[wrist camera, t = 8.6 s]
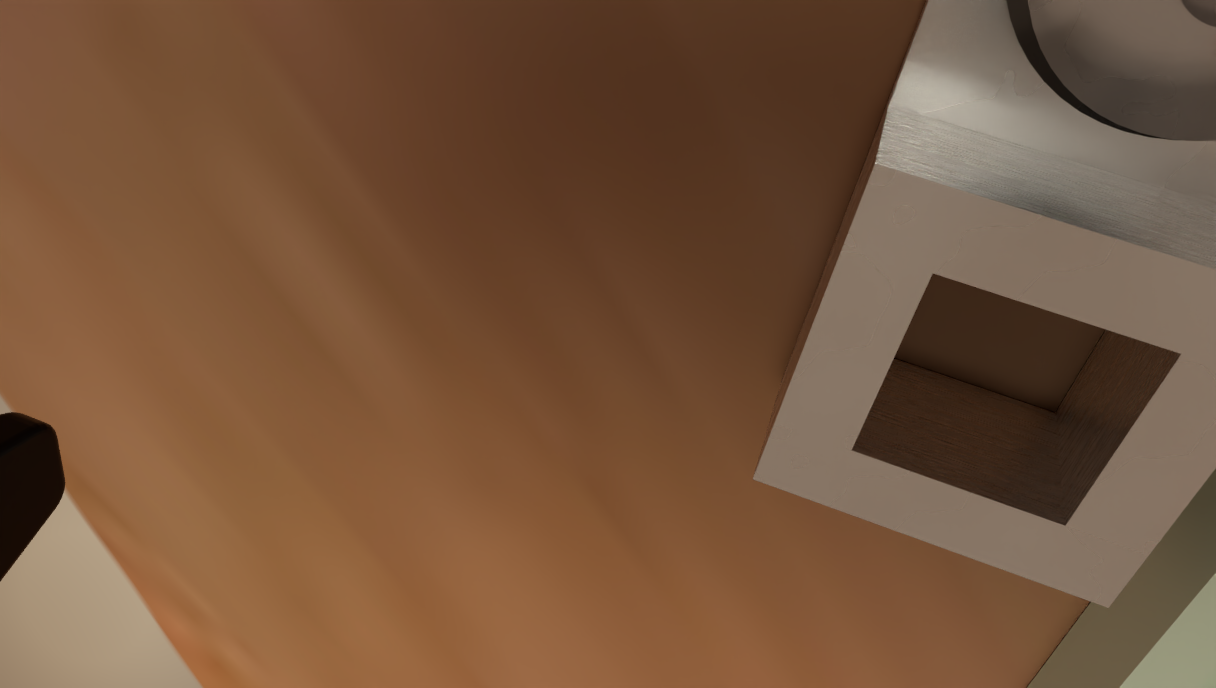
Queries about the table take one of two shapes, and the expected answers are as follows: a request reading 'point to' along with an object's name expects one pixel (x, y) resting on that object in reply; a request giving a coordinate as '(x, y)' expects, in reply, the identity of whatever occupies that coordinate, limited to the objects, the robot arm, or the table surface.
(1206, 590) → the tray
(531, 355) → the table surface
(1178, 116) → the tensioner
